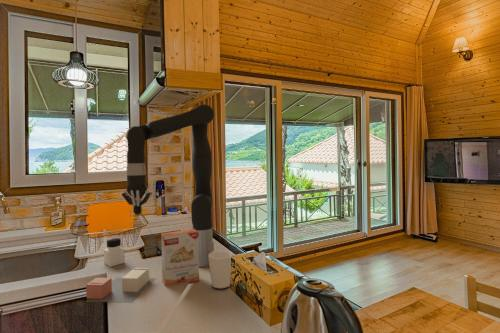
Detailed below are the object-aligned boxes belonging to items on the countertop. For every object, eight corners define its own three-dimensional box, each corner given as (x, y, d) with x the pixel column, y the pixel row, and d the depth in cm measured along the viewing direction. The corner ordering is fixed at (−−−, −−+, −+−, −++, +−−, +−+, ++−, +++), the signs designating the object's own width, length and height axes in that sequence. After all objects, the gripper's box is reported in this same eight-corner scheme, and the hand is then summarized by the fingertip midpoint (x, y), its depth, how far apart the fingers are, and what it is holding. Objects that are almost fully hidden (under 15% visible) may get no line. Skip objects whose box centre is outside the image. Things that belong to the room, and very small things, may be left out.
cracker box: (165, 289, 113) (163, 236, 112) (162, 283, 118) (160, 232, 117) (200, 281, 119) (198, 231, 119) (195, 276, 125) (194, 228, 124)
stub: (112, 290, 109) (111, 277, 109) (102, 298, 104) (102, 284, 103) (96, 290, 110) (96, 277, 110) (86, 298, 104) (86, 284, 104)
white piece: (156, 281, 121) (155, 266, 121) (132, 306, 101) (131, 288, 101) (116, 280, 122) (116, 265, 122) (86, 304, 102) (85, 286, 102)
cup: (218, 278, 122) (218, 248, 122) (238, 283, 117) (238, 252, 117) (203, 288, 114) (202, 256, 113) (224, 294, 109) (223, 260, 108)
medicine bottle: (124, 262, 142) (124, 238, 142) (109, 267, 137) (108, 241, 136) (118, 259, 147) (117, 236, 147) (103, 263, 142) (103, 239, 141)
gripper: (155, 173, 127) (156, 212, 128) (126, 173, 128) (127, 212, 129) (147, 174, 120) (148, 216, 120) (116, 174, 121) (118, 216, 121)
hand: (137, 214), depth 125 cm, fingers closed
